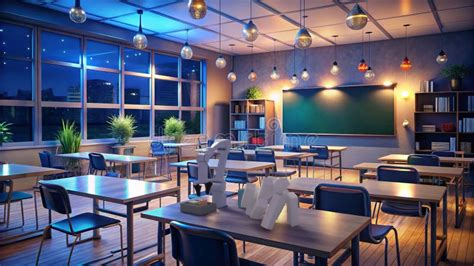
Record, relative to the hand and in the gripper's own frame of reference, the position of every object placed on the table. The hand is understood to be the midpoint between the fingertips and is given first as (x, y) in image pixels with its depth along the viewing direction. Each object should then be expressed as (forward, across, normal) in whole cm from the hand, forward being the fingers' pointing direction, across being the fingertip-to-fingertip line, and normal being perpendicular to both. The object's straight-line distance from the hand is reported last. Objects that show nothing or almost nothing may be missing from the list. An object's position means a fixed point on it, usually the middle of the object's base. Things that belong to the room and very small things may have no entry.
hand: (203, 195), depth 224 cm
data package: (+11, +25, -14) cm, 31 cm away
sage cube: (+10, 0, +8) cm, 12 cm away
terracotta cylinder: (+10, 0, 0) cm, 10 cm away
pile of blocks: (+10, +4, -44) cm, 46 cm away
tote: (+10, 0, +4) cm, 11 cm away
